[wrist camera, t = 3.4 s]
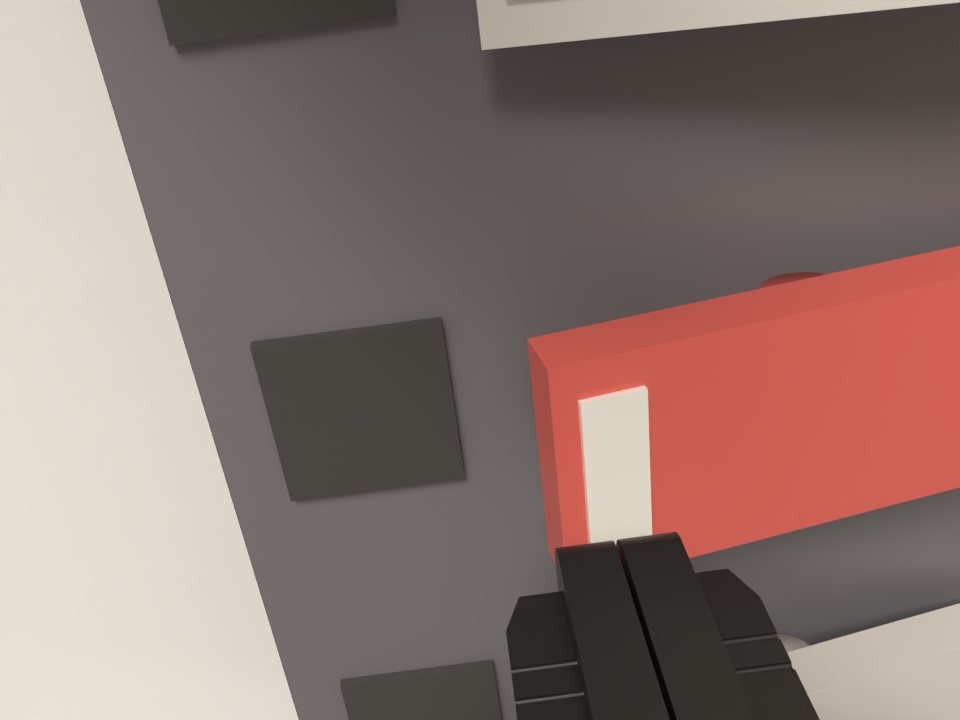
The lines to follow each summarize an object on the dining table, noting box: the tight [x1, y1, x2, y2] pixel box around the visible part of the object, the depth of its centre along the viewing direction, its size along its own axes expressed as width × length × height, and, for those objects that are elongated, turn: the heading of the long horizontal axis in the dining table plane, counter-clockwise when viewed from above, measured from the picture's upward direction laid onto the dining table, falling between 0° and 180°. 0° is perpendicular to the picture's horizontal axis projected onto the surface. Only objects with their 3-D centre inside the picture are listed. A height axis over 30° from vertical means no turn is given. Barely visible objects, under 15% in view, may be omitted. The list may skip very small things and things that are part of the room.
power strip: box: [80, 0, 960, 720], centre depth 18 cm, size 15×25×4 cm, turn 7°
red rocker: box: [527, 246, 960, 565], centre depth 15 cm, size 9×4×2 cm, turn 97°
